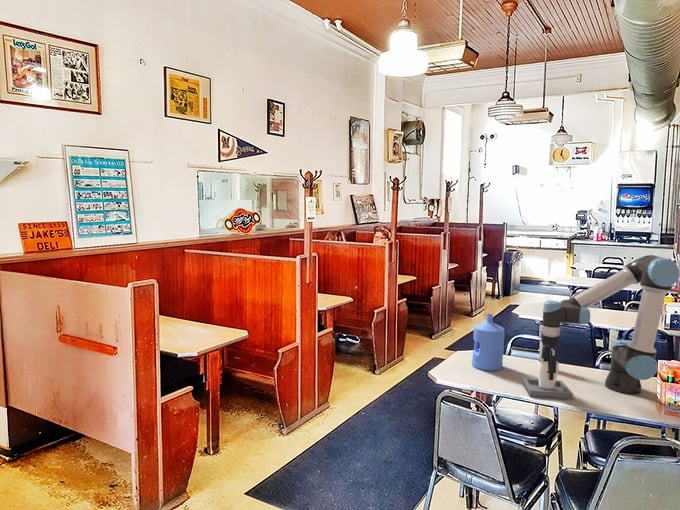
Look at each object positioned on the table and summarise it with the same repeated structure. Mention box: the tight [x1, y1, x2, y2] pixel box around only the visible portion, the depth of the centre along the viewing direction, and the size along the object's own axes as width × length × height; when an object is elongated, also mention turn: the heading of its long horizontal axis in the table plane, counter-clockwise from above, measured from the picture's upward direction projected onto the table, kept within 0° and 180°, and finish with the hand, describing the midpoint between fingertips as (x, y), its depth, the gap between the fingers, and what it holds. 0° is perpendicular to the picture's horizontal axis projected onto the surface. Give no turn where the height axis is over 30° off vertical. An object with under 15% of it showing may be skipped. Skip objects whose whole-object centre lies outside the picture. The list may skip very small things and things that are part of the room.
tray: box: [521, 377, 573, 400], centre depth 233 cm, size 18×16×3 cm
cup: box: [537, 358, 560, 389], centre depth 232 cm, size 9×9×12 cm
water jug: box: [471, 313, 505, 372], centre depth 264 cm, size 16×16×28 cm
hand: (547, 382), depth 232 cm, fingers closed on cup, 9 cm apart
